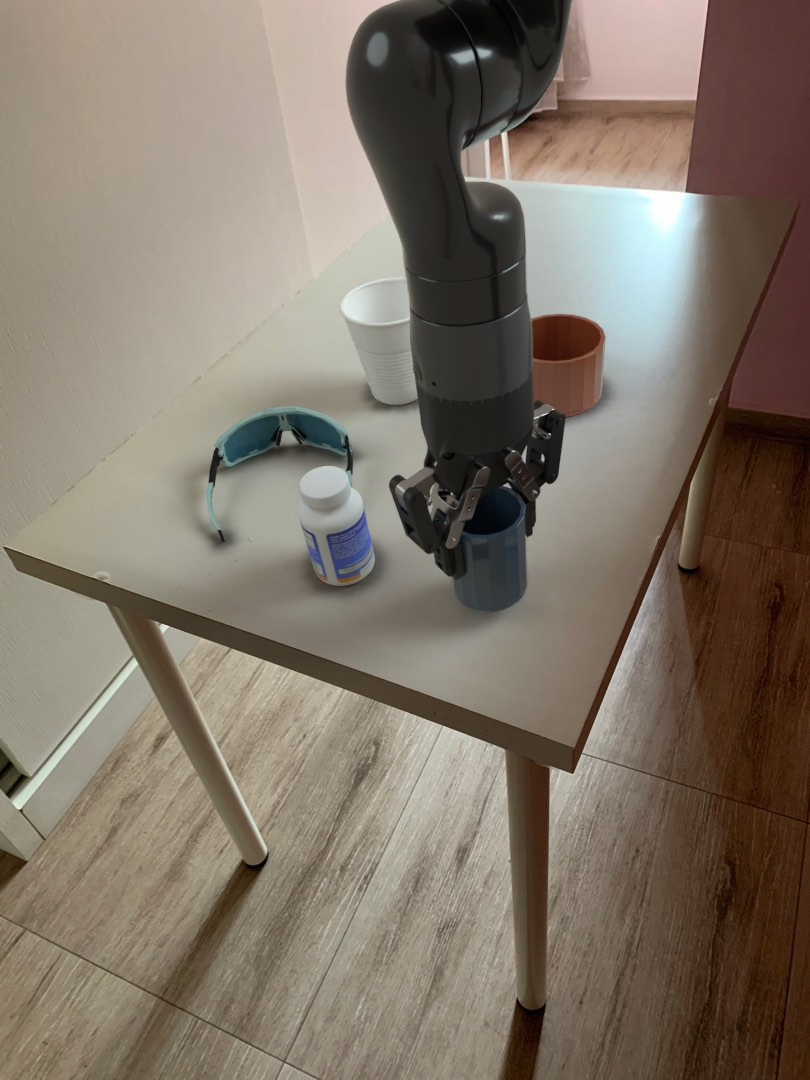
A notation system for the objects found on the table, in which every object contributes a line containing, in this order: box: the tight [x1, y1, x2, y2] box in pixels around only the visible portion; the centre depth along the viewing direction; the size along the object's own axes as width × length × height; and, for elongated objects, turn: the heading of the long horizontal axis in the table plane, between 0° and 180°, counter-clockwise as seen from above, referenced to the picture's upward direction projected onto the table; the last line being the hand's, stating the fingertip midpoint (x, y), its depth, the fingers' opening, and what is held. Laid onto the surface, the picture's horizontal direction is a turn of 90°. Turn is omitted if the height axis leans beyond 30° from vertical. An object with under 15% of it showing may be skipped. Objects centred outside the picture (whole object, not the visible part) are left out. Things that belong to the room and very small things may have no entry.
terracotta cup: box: [531, 313, 607, 418], centre depth 84 cm, size 10×10×6 cm
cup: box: [338, 276, 418, 406], centre depth 86 cm, size 10×10×11 cm
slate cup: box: [445, 485, 529, 613], centre depth 62 cm, size 6×6×8 cm
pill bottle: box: [297, 465, 376, 587], centre depth 67 cm, size 5×5×10 cm
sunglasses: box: [205, 405, 354, 543], centre depth 78 cm, size 14×15×5 cm
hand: (487, 551), depth 62 cm, fingers closed on slate cup, 6 cm apart
